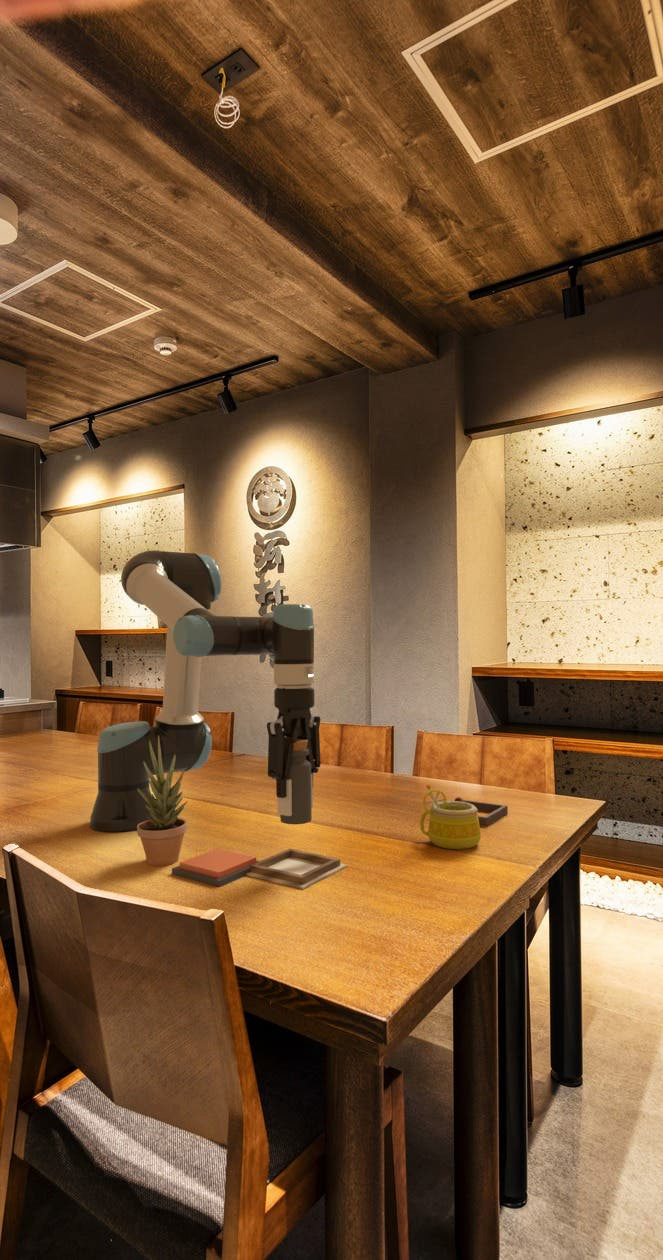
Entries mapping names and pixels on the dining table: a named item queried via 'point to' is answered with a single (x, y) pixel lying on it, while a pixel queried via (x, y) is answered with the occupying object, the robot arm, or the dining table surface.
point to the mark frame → (296, 868)
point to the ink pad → (215, 867)
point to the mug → (451, 823)
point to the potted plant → (162, 816)
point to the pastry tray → (496, 810)
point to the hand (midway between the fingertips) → (295, 810)
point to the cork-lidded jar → (300, 785)
